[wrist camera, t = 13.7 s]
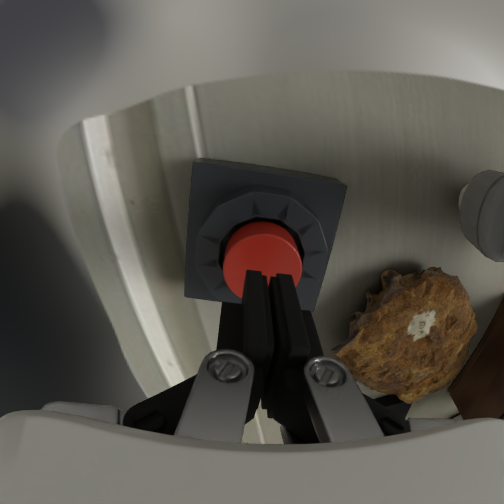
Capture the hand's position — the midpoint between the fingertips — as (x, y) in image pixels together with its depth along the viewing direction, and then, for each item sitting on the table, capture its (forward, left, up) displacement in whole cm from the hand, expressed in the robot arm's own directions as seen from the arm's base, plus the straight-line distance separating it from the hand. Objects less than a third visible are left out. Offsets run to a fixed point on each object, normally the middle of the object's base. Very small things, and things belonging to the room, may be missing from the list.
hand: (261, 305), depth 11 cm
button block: (0, 0, -7) cm, 7 cm away
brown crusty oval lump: (+7, +14, -8) cm, 18 cm away
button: (0, 0, -4) cm, 4 cm away
